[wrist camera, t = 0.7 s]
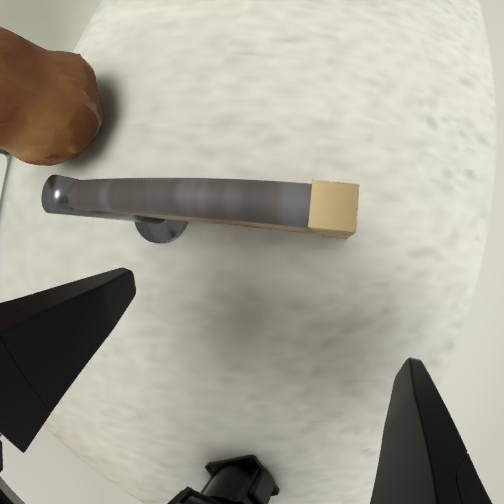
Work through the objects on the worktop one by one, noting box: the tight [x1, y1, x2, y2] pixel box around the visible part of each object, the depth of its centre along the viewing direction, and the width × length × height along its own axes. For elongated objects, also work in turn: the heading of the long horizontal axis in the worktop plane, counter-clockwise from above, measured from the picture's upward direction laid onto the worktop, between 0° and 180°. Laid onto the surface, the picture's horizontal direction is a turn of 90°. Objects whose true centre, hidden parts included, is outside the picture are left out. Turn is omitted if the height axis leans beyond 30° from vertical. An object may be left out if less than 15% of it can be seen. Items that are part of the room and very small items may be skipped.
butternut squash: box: [0, 27, 104, 166], centre depth 20 cm, size 14×13×25 cm
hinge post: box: [42, 175, 188, 243], centre depth 22 cm, size 6×6×14 cm
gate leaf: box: [68, 178, 359, 239], centre depth 19 cm, size 15×2×12 cm, turn 83°
